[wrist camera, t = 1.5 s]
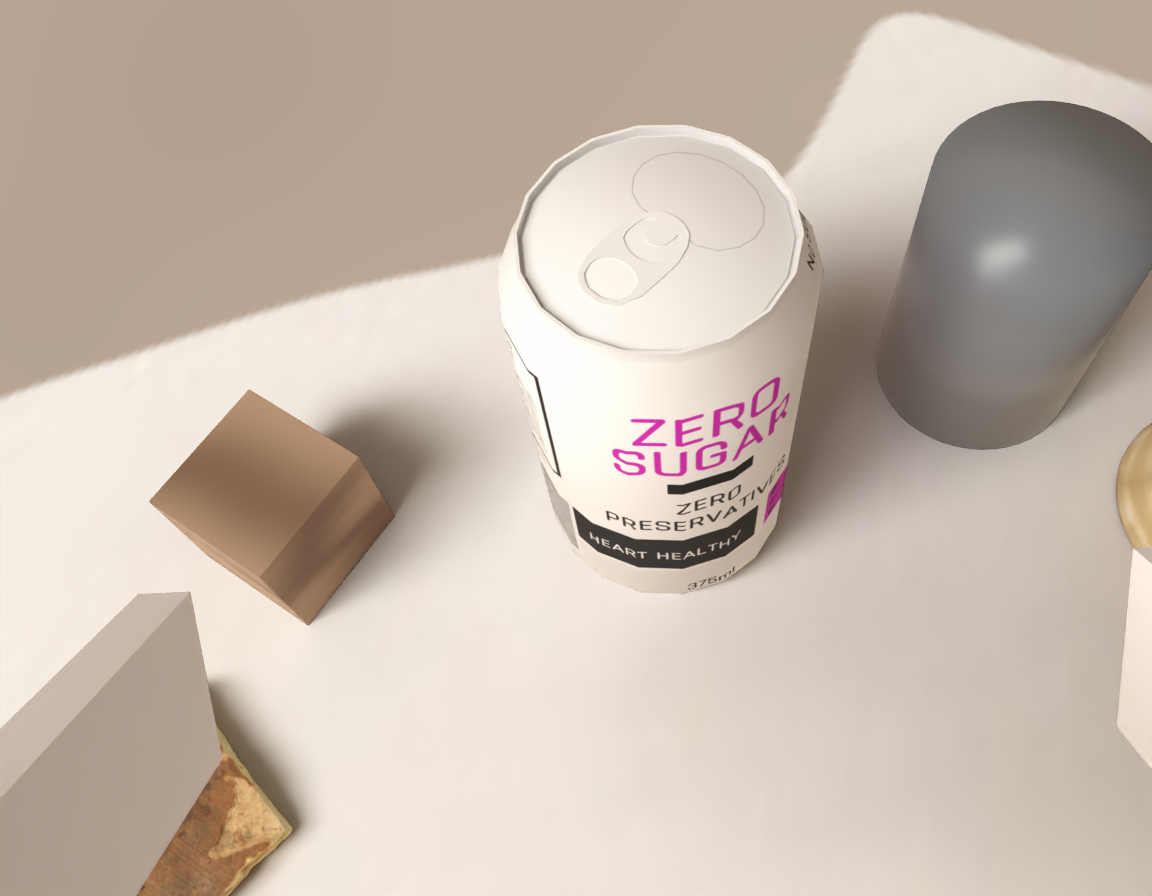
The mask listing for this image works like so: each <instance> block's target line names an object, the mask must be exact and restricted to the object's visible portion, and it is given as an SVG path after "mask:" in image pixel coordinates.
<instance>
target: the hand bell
mask: <svg viewBox="0 0 1152 896" xmlns="http://www.w3.org/2000/svg"><path fill="white" fill-rule="evenodd" d="M1116 483H1117V486H1116V497H1117V506H1118V510H1119V515H1120V519H1121V522H1122V524H1123V526H1124V529H1125V532H1126V534H1127V536H1128V538H1129V540H1130V542H1131V544H1132V545H1133V547H1134V548H1148V547H1152V423H1151V424H1150V425H1148V426H1147V427H1146V428H1145V429H1143V430H1142V431H1141V432H1140V433H1139V434H1138V435H1137V437H1136V438H1135V439H1134V440H1133V441H1132V443H1131V444H1130V445H1129V447H1128V449H1127V450H1126V452H1125V454H1124V456H1123V458H1122V460H1121V463H1120V466H1119V470H1118V475H1117V481H1116Z"/></svg>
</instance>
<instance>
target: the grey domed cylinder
mask: <svg viewBox="0 0 1152 896" xmlns="http://www.w3.org/2000/svg"><path fill="white" fill-rule="evenodd" d="M1151 268H1152V143H1151V142H1150V141H1149V140H1148V139H1146V138H1145V137H1144V136H1143V135H1142V134H1140V133H1139V132H1138V131H1136V130H1135V129H1133V128H1132V127H1130V126H1129V125H1127V124H1126V123H1124V122H1122V121H1120V120H1118V119H1116V118H1114V117H1112V116H1110V115H1107V114H1105V113H1103V112H1100V111H1097V110H1094V109H1091V108H1088V107H1085V106H1080V105H1076V104H1071V103H1064V102H1056V101H1024V102H1017V103H1010V104H1006V105H1002V106H998V107H994V108H992V109H989V110H986V111H984V112H981V113H979V114H977V115H975V116H973V117H972V118H970V119H968V120H967V121H965V122H964V123H962V124H961V125H959V126H958V127H957V128H956V129H955V130H954V131H953V132H952V133H951V134H949V136H948V137H947V138H946V139H945V141H944V142H943V143H942V144H941V146H940V148H939V150H938V152H937V153H936V155H935V158H934V161H933V164H932V167H931V170H930V174H929V177H928V181H927V184H926V187H925V191H924V194H923V197H922V201H921V204H920V208H919V211H918V214H917V218H916V221H915V225H914V228H913V231H912V235H911V238H910V241H909V245H908V248H907V252H906V255H905V258H904V262H903V265H902V268H901V272H900V275H899V279H898V282H897V285H896V289H895V292H894V296H893V299H892V302H891V306H890V309H889V312H888V316H887V319H886V323H885V326H884V329H883V333H882V336H881V339H880V343H879V346H878V352H877V371H878V377H879V381H880V384H881V387H882V389H883V391H884V393H885V395H886V397H887V399H888V400H889V402H890V403H891V405H892V406H893V408H894V409H895V410H896V411H897V412H898V414H899V415H900V416H901V417H902V418H904V419H905V420H906V421H907V422H908V423H909V424H910V425H912V426H913V427H915V428H916V429H917V430H919V431H920V432H922V433H924V434H926V435H927V436H929V437H931V438H933V439H936V440H938V441H941V442H943V443H946V444H950V445H953V446H957V447H962V448H968V449H980V450H984V449H998V448H1005V447H1009V446H1013V445H1016V444H1020V443H1022V442H1024V441H1027V440H1029V439H1031V438H1033V437H1034V436H1036V435H1038V434H1039V433H1041V432H1042V431H1043V430H1044V429H1046V428H1047V427H1048V426H1049V425H1050V424H1051V423H1052V422H1053V421H1054V420H1055V419H1056V417H1057V416H1058V414H1059V413H1060V411H1061V410H1062V408H1063V407H1064V405H1065V403H1066V402H1067V400H1068V399H1069V397H1070V396H1071V394H1072V392H1073V391H1074V389H1075V388H1076V386H1077V385H1078V383H1079V381H1080V380H1081V378H1082V377H1083V375H1084V374H1085V372H1086V370H1087V369H1088V367H1089V366H1090V364H1091V363H1092V361H1093V359H1094V358H1095V356H1096V355H1097V353H1098V352H1099V350H1100V348H1101V347H1102V345H1103V344H1104V342H1105V341H1106V339H1107V338H1108V336H1109V334H1110V333H1111V331H1112V330H1113V328H1114V327H1115V325H1116V323H1117V322H1118V320H1119V319H1120V317H1121V316H1122V314H1123V312H1124V311H1125V309H1126V308H1127V306H1128V305H1129V303H1130V301H1131V300H1132V298H1133V297H1134V295H1135V294H1136V292H1137V290H1138V289H1139V287H1140V286H1141V284H1142V283H1143V281H1144V279H1145V278H1146V276H1147V275H1148V273H1149V272H1150V270H1151Z"/></svg>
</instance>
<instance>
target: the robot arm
mask: <svg viewBox="0 0 1152 896" xmlns="http://www.w3.org/2000/svg"><path fill="white" fill-rule="evenodd" d="M1117 727H1118V729H1119V730H1120V731H1121V732H1122V733H1123V735H1124V736H1125V737H1126V738H1127V740H1128V741H1129V742H1130V743H1131V745H1132V746H1133V747H1134V748H1135V750H1136V751H1137V752H1138V753H1139V754H1140V756H1141V757H1142V758H1143V759H1144V761H1145V762H1146V763H1147V764H1148V766H1149V767H1150V768H1151V769H1152V547H1148V548H1133V555H1132V566H1131V577H1130V588H1129V599H1128V610H1127V621H1126V632H1125V643H1124V653H1123V664H1122V675H1121V686H1120V697H1119V708H1118V719H1117ZM221 760H222V754H221V749H220V744H219V739H218V733H217V728H216V723H215V718H214V713H213V707H212V702H211V697H210V692H209V687H208V681H207V676H206V671H205V666H204V661H203V655H202V650H201V645H200V640H199V635H198V629H197V624H196V619H195V614H194V609H193V603H192V598H191V593H190V592H174V593H152V594H138V595H137V596H136V597H135V598H134V599H133V600H132V601H131V602H130V603H129V604H128V605H127V606H126V607H125V608H124V609H123V610H122V611H121V612H120V613H119V614H118V615H117V616H115V617H114V618H113V619H112V620H111V621H110V622H109V623H108V624H107V625H106V626H105V627H104V628H103V629H102V630H101V631H100V632H99V633H98V634H97V635H96V636H95V637H94V638H93V639H92V640H91V641H90V642H89V643H88V644H87V645H86V646H85V647H84V648H83V649H82V650H81V651H80V652H79V653H78V654H77V655H76V656H75V657H74V658H72V659H71V660H70V661H69V662H68V663H67V664H66V665H65V666H64V667H63V668H62V669H61V670H60V671H59V672H58V673H57V674H56V675H55V676H54V677H53V678H52V679H51V680H50V681H49V682H48V683H47V684H46V685H45V686H44V687H43V688H42V689H41V690H40V691H39V692H38V693H37V694H36V695H35V696H34V697H33V698H32V699H31V700H29V701H28V702H27V703H26V704H25V705H24V706H23V707H22V708H21V709H20V710H19V711H18V712H17V713H16V714H15V715H14V716H13V717H12V718H11V719H10V720H9V721H8V722H7V723H6V724H5V725H4V726H3V727H2V728H1V729H0V896H136V895H137V894H138V892H139V891H140V889H141V887H142V886H143V884H144V883H145V881H146V879H147V878H148V876H149V875H150V873H151V871H152V870H153V868H154V867H155V865H156V864H157V862H158V860H159V859H160V857H161V856H162V854H163V852H164V851H165V849H166V848H167V846H168V844H169V843H170V841H171V840H172V838H173V837H174V835H175V833H176V832H177V830H178V829H179V827H180V825H181V824H182V822H183V821H184V819H185V817H186V816H187V814H188V813H189V811H190V809H191V808H192V806H193V805H194V803H195V802H196V800H197V798H198V797H199V795H200V794H201V792H202V790H203V789H204V787H205V786H206V784H207V782H208V781H209V779H210V778H211V776H212V774H213V773H214V771H215V770H216V768H217V767H218V765H219V763H220V762H221Z"/></svg>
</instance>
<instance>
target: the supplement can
mask: <svg viewBox="0 0 1152 896" xmlns="http://www.w3.org/2000/svg"><path fill="white" fill-rule="evenodd" d="M497 272H498V283H499V295H500V307H501V317H502V321H503V324H504V328H505V332H506V335H507V339H508V343H509V347H510V350H511V354H512V358H513V361H514V365H515V369H516V372H517V376H518V380H519V384H520V387H521V391H522V395H523V398H524V402H525V406H526V410H527V413H528V417H529V421H530V424H531V428H532V432H533V435H534V439H535V443H536V447H537V450H538V454H539V458H540V461H541V465H542V469H543V473H544V476H545V480H546V484H547V487H548V491H549V495H550V498H551V502H552V506H553V510H554V513H555V517H556V520H557V522H558V524H559V525H560V527H561V529H562V531H563V533H564V535H565V537H566V539H567V541H568V542H569V544H570V546H571V548H572V550H573V552H574V553H575V554H577V555H578V556H579V557H580V558H581V559H582V560H583V561H585V562H586V563H587V564H588V565H589V566H590V567H591V568H593V569H594V570H595V571H596V572H597V573H598V574H599V575H601V576H602V577H603V578H606V579H608V580H611V581H613V582H616V583H618V584H621V585H624V586H626V587H629V588H631V589H634V590H636V591H639V592H645V593H673V594H684V593H688V592H691V591H694V590H697V589H701V588H704V587H707V586H711V585H714V584H717V583H720V582H723V581H725V580H726V579H727V578H729V577H730V576H731V575H733V574H734V573H735V572H737V571H738V570H739V569H741V568H742V567H743V566H745V565H746V564H747V563H749V562H750V561H751V560H753V559H754V558H755V557H756V556H757V554H758V553H759V551H760V549H761V548H762V546H763V545H764V543H765V542H766V540H767V538H768V537H769V535H770V534H771V532H772V530H773V529H774V527H775V526H776V522H777V517H778V511H779V506H780V501H781V496H782V491H783V485H784V480H785V475H786V470H787V464H788V459H789V454H790V449H791V443H792V438H793V433H794V428H795V422H796V417H797V412H798V407H799V402H800V396H801V391H802V386H803V381H804V375H805V370H806V365H807V360H808V354H809V349H810V344H811V339H812V333H813V328H814V323H815V318H816V312H817V306H818V301H819V295H820V289H821V284H822V278H823V273H824V270H823V267H822V263H821V259H820V255H819V251H818V248H817V244H816V240H815V236H814V233H813V229H812V226H811V225H810V223H809V222H808V221H807V219H806V218H805V217H804V215H803V214H802V213H801V212H800V210H799V209H798V206H797V203H796V199H795V195H794V192H793V191H792V190H791V189H790V187H789V186H788V185H787V183H786V182H785V181H784V180H783V178H782V177H781V176H780V175H779V173H778V172H777V171H776V169H775V168H774V167H773V166H772V164H771V163H770V162H769V161H768V160H767V159H766V158H764V157H762V156H761V155H759V154H757V153H756V152H754V151H753V150H751V149H749V148H748V147H746V146H745V145H743V144H741V143H740V142H738V141H736V140H735V139H733V138H731V137H730V136H726V135H722V134H718V133H714V132H710V131H706V130H703V129H699V128H695V127H691V126H687V125H642V126H641V125H640V126H634V127H630V128H627V129H623V130H620V131H617V132H613V133H609V134H606V135H602V136H599V137H595V138H592V139H590V140H588V141H587V142H585V143H584V144H582V145H580V146H579V147H577V148H576V149H574V150H572V151H571V152H569V153H567V154H566V155H564V156H563V157H561V158H559V159H558V160H556V161H554V162H553V163H552V164H551V166H550V167H549V168H548V169H547V170H546V171H545V173H544V174H543V175H542V176H541V178H540V179H539V180H538V181H537V182H536V183H535V184H534V186H533V187H532V188H531V189H530V191H529V192H528V193H527V194H526V196H525V199H524V202H523V205H522V208H521V211H520V214H519V217H518V219H517V220H516V222H515V224H514V225H513V227H512V229H511V232H510V235H509V239H508V241H507V244H506V247H505V250H504V253H503V256H502V259H501V262H500V265H499V267H498V270H497Z"/></svg>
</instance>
